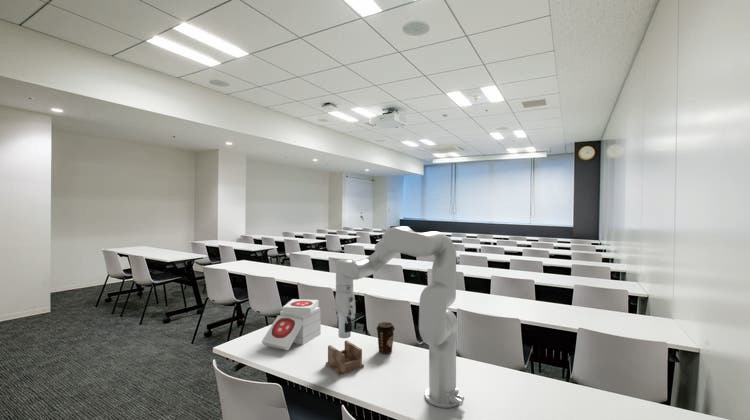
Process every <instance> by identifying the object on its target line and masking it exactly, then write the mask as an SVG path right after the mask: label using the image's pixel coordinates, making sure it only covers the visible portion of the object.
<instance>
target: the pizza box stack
mask: <svg viewBox="0 0 750 420" xmlns="http://www.w3.org/2000/svg"><path fill="white" fill-rule="evenodd" d="M279 314H280V315H277V316H276V317H275V319H274V321H273V323H272V324H271V325H270V327H269V329H268V330H267V332H266V334H265V335H264V337H263V338H262V340H261V342H262V344H263V345H264V346H268V347H272V348H276V349H280V350H285V351H289V350H290V348H291V346H292V345H293V344H298V345H305V344H307V343H308V342H311V341H312V340H314V339H315V337H316V338H317V337H319V336H321V329H322V328H321V325H322V324H321V322H322V321H321V307H320V306H319V299H304V298H303V299H302V298H300V299H299V298H298V299H297V298H292V299H291V300H289V301H288V302H286V304H285V305H283V306H282V309H281V310H280V311H279ZM310 340H311V341H310Z"/></svg>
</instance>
